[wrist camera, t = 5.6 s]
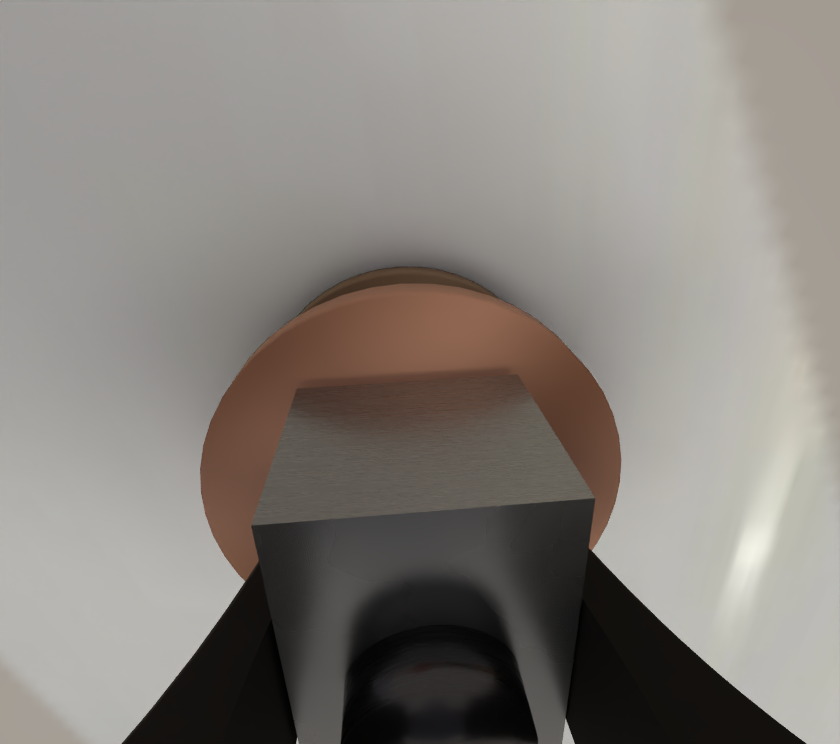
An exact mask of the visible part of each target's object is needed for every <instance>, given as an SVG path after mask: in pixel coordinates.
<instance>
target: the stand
mask: <svg viewBox="0 0 840 744" xmlns="http://www.w3.org/2000/svg"><path fill="white" fill-rule="evenodd" d="M515 374H518V375H519V377H520V378H521V380H522V382H523V383H524V385H525V386H526V388H527V389H528V391H529V393H530V394H531V396H532V397H533V399H534V401H535V402H536V404H537V405H538V407H539V409H540V410H541V412H542V413H543V415H544V417H545V418H546V420H547V421H548V423H549V425H550V426H551V428H552V429H553V431H554V433H555V434H556V436H557V437H558V439H559V441H560V442H561V444H562V445H563V447H564V449H565V450H566V452H567V453H568V455H569V457H570V458H571V460H572V461H573V463H574V465H575V466H576V468H577V469H578V471H579V473H580V474H581V476H582V477H583V479H584V481H585V482H586V484H587V485H588V487H589V489H590V490H591V492H592V493H593V495H594V497H595V505H594V513H593V520H592V527H591V535H590V542H589V549H590V550H591V551H592V549H593V548H594V547H595V545H596V544H597V542H598V540H599V538H600V537H601V535H602V533H603V531H604V529H605V527H606V525H607V523H608V521H609V518H610V515H611V513H612V510H613V507H614V505H615V501H616V497H617V492H618V487H619V483H620V470H621V452H620V442H619V435H618V431H617V427H616V423H615V420H614V416H613V413H612V411H611V408H610V406H609V404H608V402H607V400H606V397H605V395H604V393H603V391H602V390H601V388H600V386H599V385H598V383H597V382H596V380H595V379H594V377H593V376H592V374H591V373H590V371H589V370H588V369H587V368H586V367H585V366H584V365H583V364H582V362H581V361H580V360H579V359H578V358H577V357H576V356H575V355H574V354H573V353H572V352H571V350H570V349H569V348H568V347H567V346H566V345H565V344H564V343H563V342H562V341H561V340H560V338H559V337H558V336H557V335H556V334H554V333H553V332H552V331H551V330H549V329H548V328H547V327H546V326H544V325H543V324H542V323H541V322H540V321H538V320H537V319H535V318H534V317H532V316H530V315H529V314H527V313H525V312H524V311H522V310H520V309H519V308H517V307H515V306H514V305H511V304H509V303H506V302H504V301H502V300H500V299H499V298H498V297H496V296H495V295H494V294H493V293H491V292H490V291H488V290H487V289H485V288H483V287H482V286H480V285H478V284H477V283H475V282H473V281H471V280H468V279H466V278H463V277H461V276H459V275H456V274H452V273H449V272H445V271H441V270H438V269H430V268H423V267H394V268H386V269H378V270H375V271H371V272H367V273H363V274H360V275H357V276H355V277H352V278H350V279H347V280H345V281H343V282H340V283H339V284H337V285H335V286H334V287H332V288H330V289H328V290H327V291H325V292H324V293H322V294H321V295H320V296H318V297H317V298H316V299H315V300H313V301H312V302H311V303H310V304H309V305H308V306H307V307H306V308H305V309H304V310H303V311H302V312H301V313H300V314H299V315H298V316H297V317H296V318H294V319H292V320H291V321H289V322H288V323H287V324H286V325H284V326H283V327H282V328H280V329H279V330H278V331H277V332H275V333H274V334H273V335H271V336H270V337H269V338H268V339H267V340H266V341H265V342H264V343H263V344H262V345H261V346H260V347H259V348H258V349H257V350H256V351H255V352H254V354H253V355H252V356H251V357H250V358H249V359H248V361H247V362H246V364H245V365H244V366H243V368H242V369H241V371H240V372H239V373H238V375H237V376H236V378H235V379H234V381H233V382H232V384H231V385H230V387H229V388H228V390H227V391H226V393H225V395H224V396H223V398H222V400H221V402H220V404H219V406H218V408H217V410H216V412H215V414H214V416H213V418H212V420H211V422H210V426H209V429H208V432H207V435H206V439H205V442H204V445H203V453H202V460H201V468H200V474H201V494H202V499H203V504H204V509H205V514H206V517H207V520H208V523H209V525H210V528H211V531H212V533H213V536H214V538H215V540H216V542H217V543H218V545H219V547H220V549H221V551H222V552H223V554H224V556H225V557H226V559H227V560H228V561H229V562H230V564H231V565H232V566H233V568H234V569H235V570H236V572H237V573H238V574H239V575H240V576H241V577H242V578H243V579H244V580H245V581H246V580H247V578H248V577H249V575H250V574H251V572H252V571H253V569H254V567H255V566H256V564H257V563H258V561H259V560H258V555H257V550H256V546H255V541H254V537H253V532H252V528H251V524H252V521H253V518H254V515H255V512H256V509H257V506H258V503H259V500H260V497H261V494H262V491H263V488H264V485H265V482H266V479H267V476H268V473H269V470H270V467H271V464H272V461H273V458H274V455H275V452H276V449H277V446H278V443H279V440H280V437H281V434H282V431H283V428H284V425H285V422H286V419H287V416H288V413H289V410H290V407H291V404H292V401H293V398H294V395H295V392H296V389H297V388H312V387H328V386H344V385H359V384H375V383H390V382H406V381H421V380H437V379H452V378H468V377H483V376H499V375H515Z"/></svg>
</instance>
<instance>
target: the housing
mask: <svg viewBox="0 0 840 744" xmlns="http://www.w3.org/2000/svg"><path fill="white" fill-rule="evenodd" d="M594 505H595V497H594V495H593V493H592V492H591V490H590V489H589V487H588V485H587V484H586V482H585V481H584V479H583V477H582V476H581V474H580V473H579V471H578V469H577V468H576V466H575V465H574V463H573V461H572V460H571V458H570V457H569V455H568V453H567V452H566V450H565V449H564V447H563V445H562V444H561V442H560V441H559V439H558V437H557V436H556V434H555V433H554V431H553V429H552V428H551V426H550V425H549V423H548V421H547V420H546V418H545V417H544V415H543V413H542V412H541V410H540V409H539V407H538V405H537V404H536V402H535V401H534V399H533V397H532V396H531V394H530V393H529V391H528V389H527V388H526V386H525V385H524V383H523V382H522V380H521V378H520V377H519V375H518V374H515V375H499V376H483V377H468V378H452V379H437V380H421V381H406V382H390V383H375V384H359V385H344V386H328V387H312V388H297V389H296V392H295V395H294V398H293V401H292V404H291V407H290V410H289V413H288V416H287V419H286V422H285V425H284V428H283V431H282V434H281V437H280V440H279V443H278V446H277V449H276V452H275V455H274V458H273V461H272V464H271V467H270V470H269V473H268V476H267V479H266V482H265V485H264V488H263V491H262V494H261V497H260V500H259V503H258V506H257V509H256V512H255V515H254V518H253V521H252V524H251V528H252V532H253V537H254V541H255V546H256V550H257V555H258V560H259V564H260V569H261V573H262V578H263V582H264V587H265V591H266V596H267V600H268V605H269V610H270V614H271V619H272V623H273V628H274V632H275V637H276V641H277V646H278V650H279V655H280V660H281V664H282V669H283V673H284V678H285V682H286V687H287V691H288V696H289V700H290V705H291V710H292V714H293V719H294V723H295V728H296V732H297V737H298V741H299V744H562V740H563V732H564V725H565V718H566V710H567V703H568V696H569V688H570V681H571V674H572V666H573V659H574V652H575V645H576V637H577V630H578V623H579V615H580V608H581V601H582V593H583V586H584V579H585V571H586V564H587V557H588V549H589V542H590V535H591V527H592V520H593V513H594Z"/></svg>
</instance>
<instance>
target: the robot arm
mask: <svg viewBox="0 0 840 744" xmlns="http://www.w3.org/2000/svg"><path fill="white" fill-rule="evenodd" d="M566 720H567V723H568V726H569V728H570V731H571V734H572V737H573V740H574V742H575V744H806V743H805V742H803V741H802V740H801V739H799V738H798V737H797V736H795V735H794V734H793V733H791V732H790V731H789V730H788V729H786V728H785V727H784V726H782V725H781V724H780V723H778V722H777V721H776V720H775V719H773V718H772V717H771V716H770V715H768V714H767V713H766V712H765V711H763V710H762V709H761V708H760V707H758V706H757V705H756V704H755V703H753V702H752V701H751V700H750V699H748V698H747V697H746V696H745V695H743V694H742V693H741V692H740V691H738V690H737V689H736V688H735V687H734V686H732V685H731V684H730V683H729V682H728V681H727V680H725V679H724V678H723V677H722V676H721V675H719V674H718V673H717V672H716V671H715V670H714V669H713V668H711V667H710V666H709V665H708V664H707V663H706V662H705V661H703V660H702V659H701V658H700V657H699V656H698V655H697V654H696V653H695V652H693V651H692V650H691V649H690V648H689V647H688V646H687V645H686V644H685V643H683V642H682V641H681V640H680V639H679V638H678V637H677V636H676V635H675V634H674V633H673V632H672V631H671V630H669V629H668V628H667V627H666V626H665V625H664V624H663V623H662V622H661V621H660V620H659V619H658V618H657V617H656V616H655V615H654V614H653V613H652V612H651V611H650V610H649V609H648V608H647V607H646V606H645V605H644V604H643V603H642V602H641V601H640V600H639V599H638V598H637V597H636V596H634V595H633V594H632V593H631V592H630V590H629V589H628V588H627V587H626V586H625V585H624V584H623V583H622V582H621V581H620V580H619V579H618V578H617V577H616V576H615V575H614V574H613V573H612V572H611V571H610V570H609V569H608V568H607V567H606V566H605V565H604V564H603V562H602V561H601V560H600V559H599V558H598V557H597V556H596V555H595V554H594V553H593V552H592V551H591V550H590V549H588V557H587V564H586V571H585V579H584V586H583V593H582V601H581V608H580V615H579V623H578V630H577V637H576V645H575V652H574V659H573V666H572V674H571V681H570V688H569V696H568V703H567V710H566ZM296 741H297V732H296V728H295V723H294V719H293V714H292V710H291V705H290V700H289V696H288V691H287V687H286V682H285V678H284V673H283V669H282V664H281V660H280V655H279V650H278V646H277V641H276V637H275V632H274V628H273V623H272V619H271V614H270V610H269V605H268V600H267V596H266V591H265V587H264V582H263V578H262V573H261V569H260V564H259V561H258V563H257V564H256V566H255V567H254V569H253V571H252V572H251V574H250V575H249V577H248V578H247V580H246V581H245V583H244V584H243V586H242V587H241V589H240V590H239V592H238V593H237V595H236V596H235V598H234V599H233V601H232V602H231V604H230V605H229V607H228V608H227V610H226V611H225V612H224V614H223V615H222V617H221V618H220V619H219V621H218V622H217V624H216V625H215V626H214V628H213V629H212V630H211V632H210V633H209V635H208V636H207V637H206V639H205V640H204V642H203V643H202V644H201V646H200V647H199V649H198V650H197V651H196V653H195V654H194V655H193V657H192V658H191V659H190V660H189V662H188V663H187V664H186V666H185V667H184V668H183V669H182V671H181V672H180V673H179V674H178V676H177V677H176V678H175V680H174V681H173V682H172V683H171V685H170V686H169V687H168V688H167V690H166V691H165V692H164V694H163V695H162V696H161V697H160V699H159V700H158V701H157V702H156V704H155V705H154V706H153V707H152V709H151V710H150V711H149V712H148V713H147V715H146V716H145V717H144V718H143V719H142V721H141V722H140V723H139V724H138V725H137V726H136V728H135V729H134V730H133V731H132V732H131V733H130V735H129V736H128V737H127V738H126V739H125V740H124V742H123V743H122V744H296Z"/></svg>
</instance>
